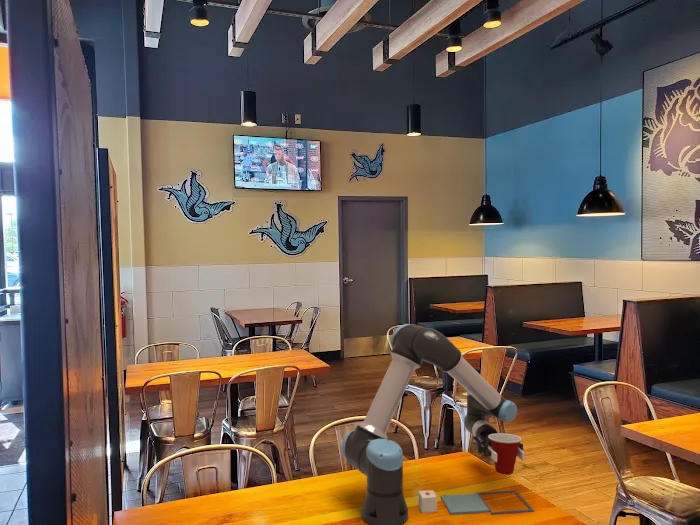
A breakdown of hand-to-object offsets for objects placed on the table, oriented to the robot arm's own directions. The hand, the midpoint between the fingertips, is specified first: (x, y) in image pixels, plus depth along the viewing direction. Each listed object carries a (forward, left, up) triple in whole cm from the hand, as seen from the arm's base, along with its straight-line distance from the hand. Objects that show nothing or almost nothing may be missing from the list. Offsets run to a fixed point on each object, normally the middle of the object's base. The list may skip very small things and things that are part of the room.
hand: (509, 457), depth 181 cm
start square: (0, +5, -17) cm, 18 cm away
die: (-27, +4, -17) cm, 32 cm away
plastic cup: (0, +5, -7) cm, 8 cm away
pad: (-14, +5, -17) cm, 23 cm away
